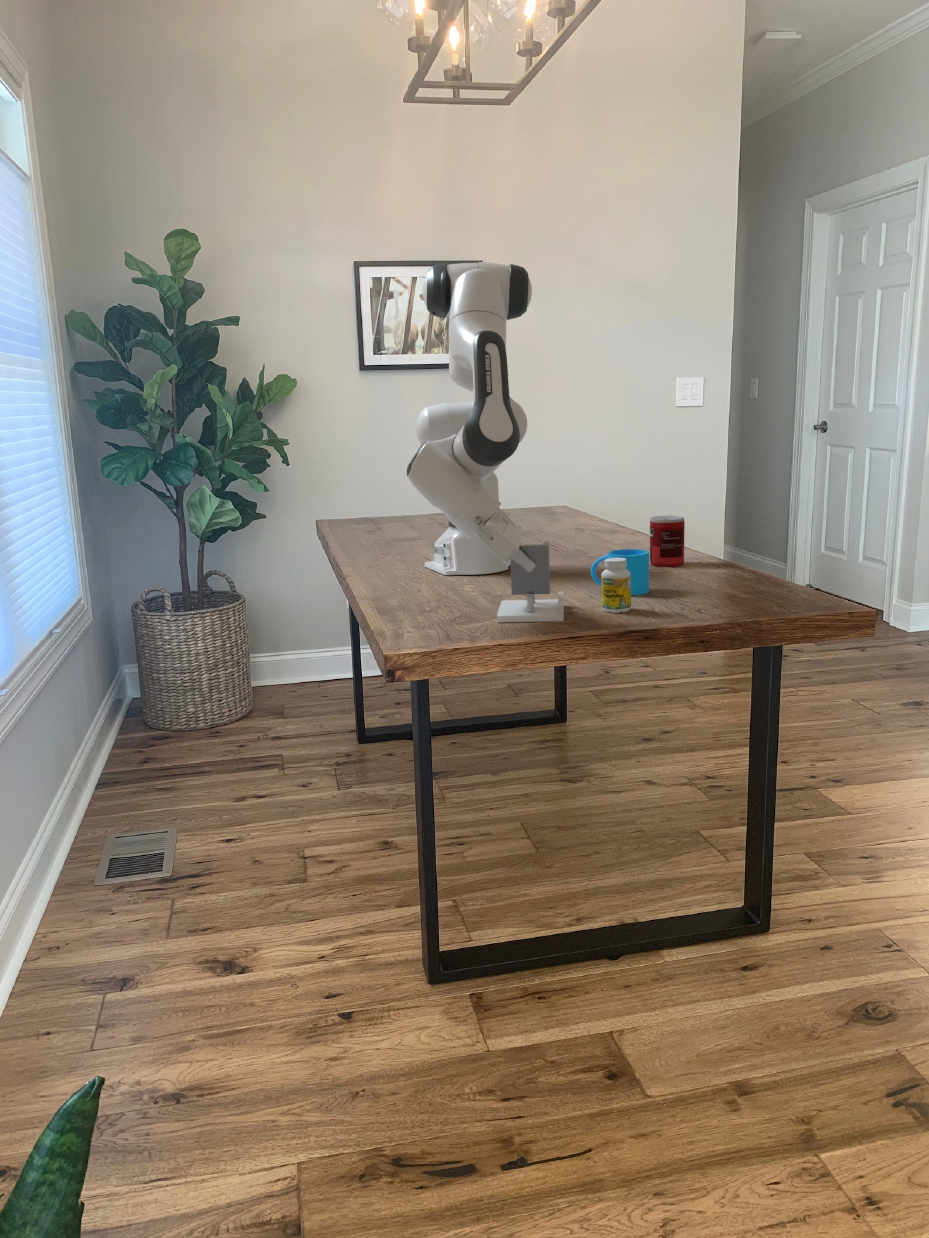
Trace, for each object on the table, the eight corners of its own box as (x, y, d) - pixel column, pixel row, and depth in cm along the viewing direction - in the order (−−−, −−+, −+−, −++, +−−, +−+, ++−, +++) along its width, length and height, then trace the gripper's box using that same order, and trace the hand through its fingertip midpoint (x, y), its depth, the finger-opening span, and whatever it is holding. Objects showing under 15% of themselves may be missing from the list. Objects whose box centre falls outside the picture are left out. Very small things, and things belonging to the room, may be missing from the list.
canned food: (662, 560, 220) (662, 514, 217) (691, 564, 214) (691, 516, 212) (642, 565, 215) (642, 518, 212) (671, 569, 209) (671, 520, 207)
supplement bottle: (633, 607, 173) (633, 557, 171) (627, 614, 169) (627, 562, 166) (605, 606, 175) (604, 556, 173) (598, 612, 171) (598, 561, 168)
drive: (511, 594, 170) (509, 545, 168) (512, 590, 174) (511, 542, 172) (549, 593, 169) (548, 544, 167) (550, 589, 173) (548, 540, 171)
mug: (653, 589, 189) (653, 549, 187) (642, 597, 182) (642, 556, 180) (597, 586, 194) (597, 548, 192) (584, 594, 187) (584, 554, 185)
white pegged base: (496, 622, 167) (495, 599, 166) (501, 606, 179) (501, 585, 178) (563, 621, 165) (563, 598, 164) (563, 605, 178) (563, 583, 177)
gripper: (485, 508, 158) (544, 563, 159) (494, 496, 178) (546, 545, 179) (460, 535, 160) (519, 589, 161) (472, 520, 180) (524, 568, 181)
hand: (533, 566), depth 170 cm, fingers closed on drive, 4 cm apart
